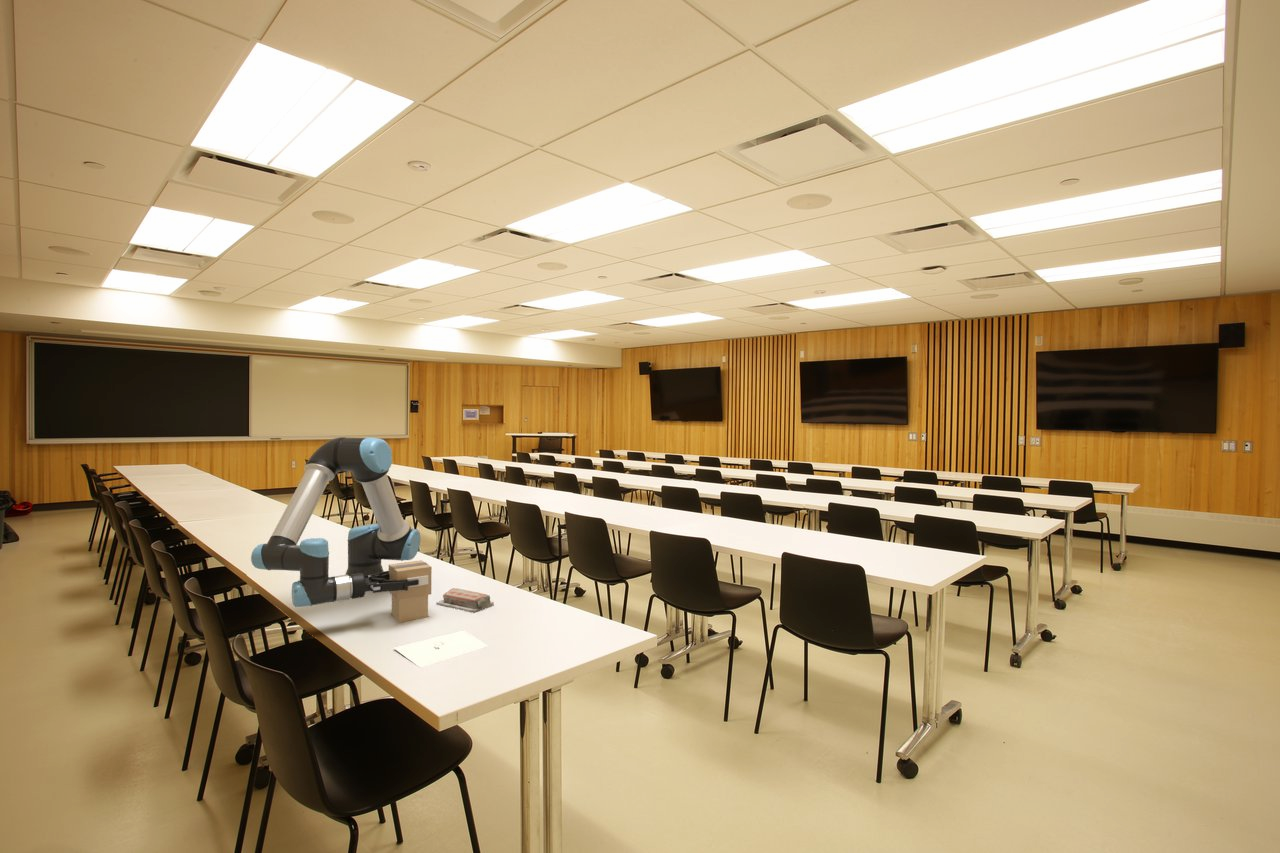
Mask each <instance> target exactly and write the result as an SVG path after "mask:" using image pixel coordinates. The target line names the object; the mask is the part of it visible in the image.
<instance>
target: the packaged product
mask: <svg viewBox="0 0 1280 853" xmlns="http://www.w3.org/2000/svg"><path fill="white" fill-rule="evenodd" d="M442 598H443V599H441V600H439V601H438V602H437V601H436V605H437V606H443V607H447V608H451V609H454V608H455V610H458V609H459V611H463V610H464V612H468V611H469V613H472V612H473V613H472V614H475V613H478V612H480V610H481V611H483V610H486V609H487V608H491V607H493V606H494V601H491V596H490V595H489V594H486V593H481V592H477V591H472V590H466V589H461V588H457V587H456V588H455V587H453V588H450V589H449V590H448V591H447V592H444V594H443V595H442ZM485 608H486V609H485Z"/></svg>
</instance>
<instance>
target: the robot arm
mask: <svg viewBox="0 0 1280 853" xmlns="http://www.w3.org/2000/svg"><path fill="white" fill-rule="evenodd" d="M392 457H393V452H392V449H391V446H390V445H389V444H388V442H387V441H385V440H384V439H382V438H378V437H372V436H371V437H344V436H343V437H342V436H341V437H336V438H332V439H330V440H327V441H326V442H325V443H323V444H322V445H320V446H319V447H318V448H317V449H316V450H315V451H314V452H313V453H312V454H311V456H310V457H309V458H308V460H307V462H306V463H305V465H304V467H303V470H304V474H303V476H302V478H301V480H300V482H299V484H298V485H297V488H296V489H295V491H294V493H293V494H292V497H291V499H290V500H289V501H288V504H287V506H286V508H285V509H284V512H283V513H282V515H281V516H280V519H279V520H278V523H277V524H276V526H275V528H274V530H273V532H272V534H271V536H270V537H269V540H268V542H266V543H261V544H257V546H256V547H255V548H253V551H252V552H251V555H250V556H251V557H250V560H251V564H252V566H253V567H254V568H255V569H258V570H266V571H291V572H292V571H293V572H299V580H297V581H294V582H292V584H291V601H292V605H293V606H294V607H295V608H301V607H309V606H310V607H312V606H318V605H322V604H327V603H328V604H329V603H334V602H337V603H341V602H342V601H346V600H350V599H352V600H353V599H360V598H364V597H365V595H366V592H367V591H370V592H372V593H373V594H376V593H380V592H381V593H382V592H383V593H384V592H388V591H398V590H405V591H407V590H408V587H414V586H420V585H427V584H428V575H427V576H420V577H414V578H407V580H389V570H385V571H384V569H383V565H382V560H388V561H402V562H403V561H411V560H413V559H414V558H415V557H416V556H417V554H418V552H419V549H420V546H421V539H422V538H421V537H422V536H421V532H420V530H418V529H416V528H412V527H411V525H410V523H409V521H407V520H406V519H404V518H403V515H402V513H401V510H400V508H399V504H398V501H397V499H396V496H395V493H394V490H393V488H392V485H391V482H390V480H389V477H388V473H389V471H390V468H391V466H392V463H393V458H392ZM340 472H348V473H349V472H350V473H351V474H352V476H353V479H354V480H355V481H356V482H357V483H360V484H361V485H362V487H363V490H364V492H365V495H366V499H367V501H368V503H369V505H370V509H371V511H372V513H373V516H374V519H375V521H376V523H371V524H370V523H369V524H364V525H359V526H354V527H352V528H350V529H349V530H348V533H347V534H348V535H347V570H346V572H345V574H341V575H335V576H334V575H333V576H329V569H330V568H329V564H330V563H329V560H330V559H329V558H330V556H329V555H330V551H329V541H328V540H327V539H325V538H321V537H317V538H314V537H313V538H306V539H303V540H301V541H300V538H301V537H302V535H303V532H304V531H305V529H306V527H307V524H308V523H309V521H310V519H311V517H312V515H313V513H314V510H315V509H316V506H317V505H318V503H319V501H320V499H321V497H322V495H323V493H324V491H325V490H326V487H327V485H328V484H329V482H330V481H333V479H335V477H336V475H337V474H338V473H340ZM299 541H300V543H299V544H298V542H299Z"/></svg>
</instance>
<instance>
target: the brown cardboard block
mask: <svg viewBox="0 0 1280 853" xmlns="http://www.w3.org/2000/svg"><path fill="white" fill-rule="evenodd" d="M388 571H389V580H407V578H414V577H420V576H427V575H428V584H427V585H420V586H414V587H408V590H407V591H405V590H398V591H387V593H389V594H390V595H391V597H392V596H394V597H395V598H396V599H397V600H400V599H406V598H412V597H418V596H424V595H428V596H431V595H432V565H429V563H427V562H425V561H423V560H422V559H421V560H420V559H419V560H413V561H405V562H398V563H391V564H390V563H389V564H388Z"/></svg>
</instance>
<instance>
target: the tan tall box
mask: <svg viewBox="0 0 1280 853" xmlns="http://www.w3.org/2000/svg"><path fill="white" fill-rule="evenodd" d="M391 616H392V617H393V618H394V619H395V620H396V621H397V622H398V623H405V622H409V621H414V620H419V619H424V618H428V617H429V595H424V596H418V597H412V598H406V599H400V600H397V599H396V598H395V597H394V596H392V595H391Z"/></svg>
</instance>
